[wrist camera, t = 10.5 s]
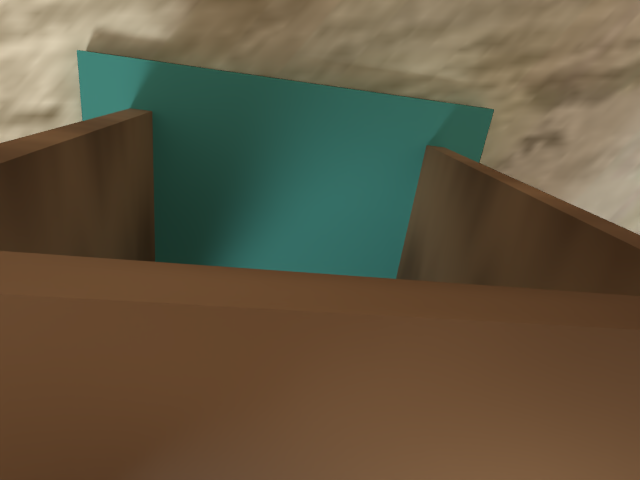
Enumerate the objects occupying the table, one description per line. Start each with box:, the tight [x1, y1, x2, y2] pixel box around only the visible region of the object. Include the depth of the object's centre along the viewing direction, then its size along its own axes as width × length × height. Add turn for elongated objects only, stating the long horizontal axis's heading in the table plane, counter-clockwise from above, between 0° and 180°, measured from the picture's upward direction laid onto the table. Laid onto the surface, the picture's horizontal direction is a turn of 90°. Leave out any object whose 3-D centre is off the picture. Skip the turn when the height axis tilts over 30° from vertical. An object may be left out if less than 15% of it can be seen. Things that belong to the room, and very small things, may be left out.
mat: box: [77, 50, 494, 279], centre depth 16 cm, size 14×14×1 cm
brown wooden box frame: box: [0, 108, 640, 480], centre depth 11 cm, size 11×11×12 cm
